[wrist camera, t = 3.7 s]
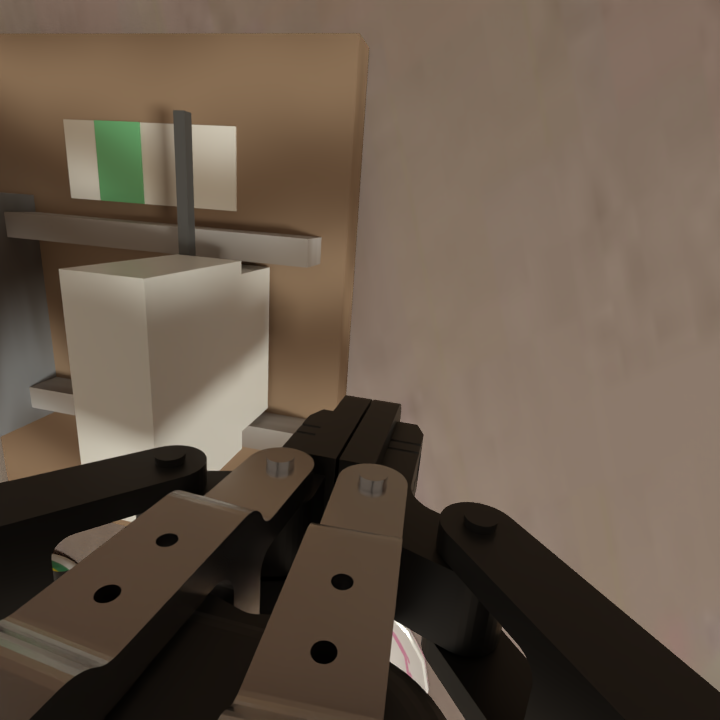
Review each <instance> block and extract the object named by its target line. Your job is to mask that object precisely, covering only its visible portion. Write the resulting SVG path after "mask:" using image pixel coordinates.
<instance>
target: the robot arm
mask: <svg viewBox="0 0 720 720" xmlns="http://www.w3.org/2000/svg"><path fill="white" fill-rule="evenodd" d="M400 416H401V404H398V403H391V402H385V401H379V400H372V399H366V398H360V397H354V396H347V395H345V396H344V398H343V399H342V400H341V401H340V403H339V404H338V405H337V407H336V408H335V409H334V411H331V410H325V409H323V410H320V411H318V412H316V413H314V414H311V415H309V417H308V418H307V419H306V420H305V421H304V422H303V423H302V425H301V426H300V427H299V428H298V429H297V430H296V432H295V433H294V434H293V435H292V436H291V437H290V438H289V440H288V441H287V442H286V443H285V444H284V445H283V447H276V448H268V449H263V450H260V451H258V452H256V453H254V454H252V455H251V456H250V457H248V458H247V459H246V460H245V461H244V462H243V463H241V464H240V465H239V466H238V467H237V468H236V469H234V470H233V471H207V457H206V455H205V453H204V452H203V451H201V450H199V449H197V448H195V447H191V446H184V445H170V446H163V447H158V448H153V449H149V450H144V451H140V452H135V453H131V454H127V455H122V456H118V457H113V458H109V459H104V460H100V461H95V462H91V463H87V464H82V465H78V466H73V467H69V468H64V469H60V470H56V471H51V472H47V473H42V474H38V475H33V476H29V477H25V478H20V479H16V480H11V481H7V482H2V483H0V720H447V719H446V718H445V716H444V715H443V713H442V712H441V710H440V709H439V708H438V706H437V705H436V704H435V702H434V701H433V700H432V698H431V697H430V696H429V695H428V694H427V693H426V691H425V690H424V689H423V688H422V687H421V686H420V685H419V684H418V683H417V682H416V681H415V680H414V679H412V678H411V677H410V676H409V675H408V674H407V673H405V672H404V671H403V670H401V669H400V668H398V667H397V666H395V665H394V664H393V663H391V662H390V654H391V644H392V635H393V625H394V621H396V622H398V623H400V624H401V625H403V626H405V627H407V628H409V629H410V630H412V631H414V632H416V633H417V634H419V635H421V636H422V639H421V646H422V651H423V654H424V656H425V658H426V660H427V661H428V663H429V664H430V666H431V667H432V669H433V671H434V672H435V674H436V675H437V677H438V678H439V680H440V681H441V683H442V684H443V686H444V687H445V689H446V690H447V692H448V694H449V695H450V697H451V698H452V700H453V701H454V703H455V704H456V706H457V707H458V709H459V710H460V712H461V713H462V715H463V717H464V718H465V720H720V692H719V691H718V690H717V689H715V688H714V687H713V686H712V685H710V684H709V683H708V682H707V681H706V680H705V679H703V678H702V677H701V676H700V675H699V674H697V673H696V672H695V671H694V670H693V669H691V668H690V667H689V666H688V665H687V664H685V663H684V662H683V661H682V660H681V659H679V658H678V657H677V656H676V655H675V654H673V653H672V652H671V651H670V650H669V649H667V648H666V647H665V646H664V645H663V644H661V643H660V642H659V641H658V640H657V639H655V638H654V637H653V636H652V635H651V634H649V633H648V632H647V631H646V630H645V629H643V628H642V627H641V626H640V625H639V624H637V623H636V622H635V621H634V620H633V619H631V618H630V617H629V616H628V615H627V614H625V613H624V612H623V611H622V610H621V609H619V608H618V607H617V606H616V605H615V604H613V603H612V602H611V601H610V600H609V599H607V598H606V597H605V596H604V595H603V594H601V593H600V592H599V591H598V590H597V589H595V588H594V587H593V586H592V585H591V584H589V583H588V582H587V581H586V580H585V579H583V578H582V577H581V576H580V575H579V574H577V573H576V572H575V571H574V570H573V569H571V568H570V567H569V566H568V565H567V564H565V563H564V562H563V561H562V560H561V559H559V558H558V557H557V556H556V555H555V554H553V553H552V552H551V551H550V550H549V549H547V548H546V547H545V546H544V545H543V544H541V543H540V542H539V541H538V540H537V539H535V538H534V537H533V536H532V535H531V534H529V533H528V532H527V531H526V530H525V529H523V528H522V527H521V526H520V525H519V524H517V523H516V522H515V521H514V520H513V519H511V518H510V517H509V516H508V515H506V514H505V513H503V512H501V511H500V510H498V509H495V508H493V507H490V506H487V505H484V504H480V503H473V502H460V503H455V504H452V505H449V506H447V507H446V508H445V509H443V511H442V512H441V514H439V513H437V512H435V511H433V510H431V509H429V508H427V507H425V506H424V505H423V504H421V503H420V502H419V501H418V500H417V499H416V498H415V497H414V496H415V492H416V487H417V480H418V472H419V465H420V457H421V450H422V442H423V433H422V431H421V430H420V428H419V427H418V425H415V424H409V423H403V422H400ZM135 515H136V519H135V520H134V521H132V522H131V523H130V524H129V525H127V526H126V527H125V528H123V529H122V530H121V531H119V532H118V533H117V534H116V535H114V536H113V537H112V538H110V539H109V540H108V541H106V542H105V543H104V544H103V545H101V546H100V547H99V548H97V549H96V550H95V551H93V552H92V553H91V554H90V555H88V556H87V557H86V558H84V559H83V560H82V561H80V562H79V563H78V564H76V565H75V566H74V567H73V568H71V569H70V570H67V571H62V572H57V571H53V568H52V553H53V550H54V549H55V547H56V546H57V545H58V543H59V542H61V541H62V540H63V539H65V538H66V537H68V536H70V535H72V534H75V533H78V532H82V531H85V530H88V529H92V528H95V527H98V526H102V525H105V524H108V523H112V522H115V521H118V520H122V519H125V518H128V517H131V516H135ZM502 627H503V628H504V629H505V630H506V631H507V632H508V634H509V635H510V636H511V637H512V638H513V639H514V640H515V642H516V643H517V644H518V645H519V646H520V648H521V649H522V651H523V652H524V654H525V656H526V658H527V659H526V658H525V656H524V655H523V654H522V653H521V652H520V651H519V650H518V648H517V647H516V646H515V645H514V644H513V643H512V641H511V640H510V639H509V638H508V637H507V636H506V635H505V633H504V632H503V631H502V630H501V629H502Z"/></svg>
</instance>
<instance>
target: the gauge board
mask: <svg viewBox="0 0 720 720" xmlns="http://www.w3.org/2000/svg"><path fill="white" fill-rule="evenodd" d="M368 58H369V47H368V46H367V44H366V43H365V41H364V40H363V38H362V36H361V35H360V33H273V34H0V437H1V441H2V447H3V452H4V458H5V464H6V470H7V476H8V481H11V480H16V479H20V478H25V477H29V476H33V475H38V474H42V473H47V472H51V471H56V470H60V469H64V468H69V467H73V466H78V465H81V458H80V450H79V441H78V432H77V424H76V415H75V406H74V398H73V389H72V381H71V372H70V363H69V355H68V346H67V338H66V329H65V320H64V312H63V303H62V294H61V286H60V277H59V269H61V268H70V267H78V266H86V265H94V264H102V263H110V262H118V261H127V260H135V259H143V258H151V257H159V256H167V255H175V254H179V245H178V221H177V196H176V172H175V148H174V124H173V110H184V111H187V112H190V113H191V120H192V152H193V184H194V217H195V249H196V256H199V257H209V258H218V259H228V260H238V261H241V264H243V265H253V266H262V267H270V283H269V351H268V408H267V409H266V410H265V411H264V412H263V413H262V414H261V415H260V416H258V417H257V418H256V419H255V420H254V421H253V422H252V423H251V424H250V425H248V426H247V427H246V428H245V429H244V430H243V431H242V449H241V450H240V451H239V452H238V453H237V454H236V455H235V456H234V457H233V458H232V459H231V460H230V461H229V462H228V463H227V464H226V465H225V466H224V467H223V468H222V469H221V470H220V471H233V470H234V469H236V468H237V467H238V466H239V465H240V464H241V463H243V462H244V461H245V460H246V459H247V458H248V457H250V456H251V455H252V454H254V453H256V452H258V451H260V450H263V449H268V448H276V447H283V445H284V444H285V443H286V442H287V441H288V440H289V438H290V437H291V436H292V435H293V434H294V433H295V432H296V430H297V429H298V428H299V427H300V426H301V425H302V423H303V422H304V421H305V420H306V419H307V418H308V417H309V415H311V414H314V413H316V412H318V411H320V410H323V409H325V410H331V411H334V409H335V408H336V407H337V405H338V404H339V403H340V401H341V400H342V399H343V398H344V396H345V395H346V387H347V372H348V357H349V342H350V327H351V312H352V297H353V282H354V267H355V252H356V237H357V222H358V208H359V193H360V178H361V163H362V148H363V133H364V118H365V103H366V88H367V73H368ZM112 523H116V524H120V525H124V526H127V525H129V524H130V523H131V522H130V521H125V520H118V521H115V522H112Z"/></svg>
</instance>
